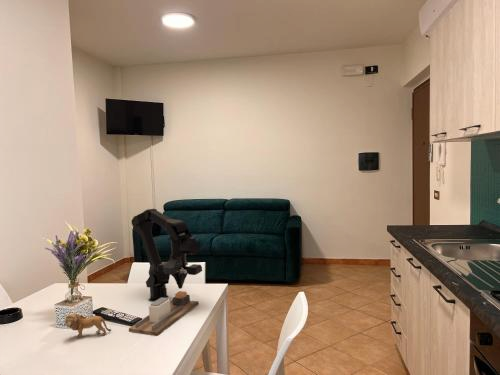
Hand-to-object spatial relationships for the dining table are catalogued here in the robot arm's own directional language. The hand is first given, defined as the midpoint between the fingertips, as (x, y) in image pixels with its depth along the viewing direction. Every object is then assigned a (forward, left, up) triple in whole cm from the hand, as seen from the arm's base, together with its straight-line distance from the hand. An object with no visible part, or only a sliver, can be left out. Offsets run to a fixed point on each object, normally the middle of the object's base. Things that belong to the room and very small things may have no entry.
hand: (180, 288), depth 155 cm
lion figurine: (-18, -33, -8) cm, 39 cm away
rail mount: (0, -11, -8) cm, 13 cm away
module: (0, -15, -7) cm, 16 cm away
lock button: (0, 0, -5) cm, 5 cm away
